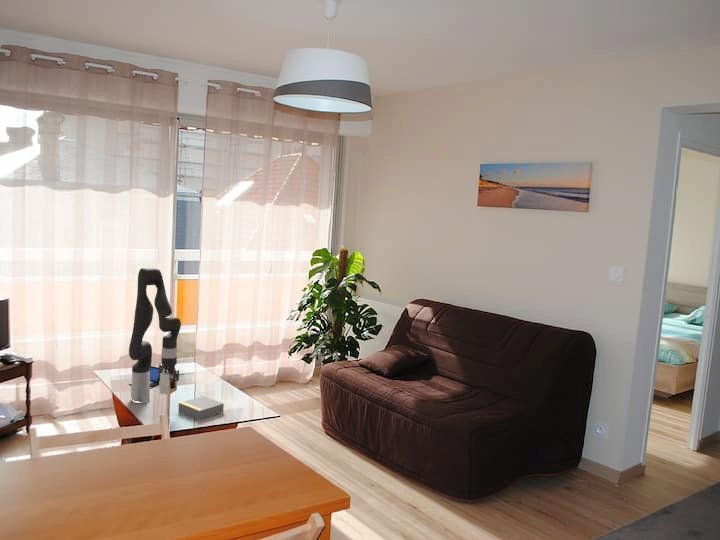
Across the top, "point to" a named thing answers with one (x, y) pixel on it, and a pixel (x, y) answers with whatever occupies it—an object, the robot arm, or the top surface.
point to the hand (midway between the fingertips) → (168, 386)
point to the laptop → (154, 376)
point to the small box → (166, 384)
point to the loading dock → (200, 407)
